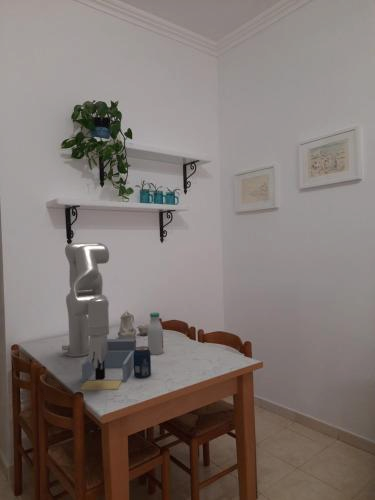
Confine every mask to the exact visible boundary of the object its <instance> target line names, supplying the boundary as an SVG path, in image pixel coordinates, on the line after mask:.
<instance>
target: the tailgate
mask: <svg viewBox="0 0 375 500" xmlns="http://www.w3.org/2000/svg"><path fill="white" fill-rule="evenodd" d="M122 382H123V379H103V380H96V379H88V380H87V381H86V382H83V384H82V386H81V387H80V388H79V391H105V390H106V391H117V390H119V388H120V386H121V384H122Z"/></svg>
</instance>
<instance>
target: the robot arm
mask: <svg viewBox="0 0 375 500" xmlns="http://www.w3.org/2000/svg"><path fill="white" fill-rule="evenodd" d="M64 254H65V257H66V259H67V261H68V265H69V282H68V283H69V288H70V289H69V293H68V294H66V297H65V304H66V307H67V308H66V309H67V317H68V340H69V342H68V343H69V344H68V345H67V344H66V345H64V344H63V345H62V346H61V350H62V351H66V356H67V357H71V358H79V357H80V358H81V357H86V356H88V358H89V363H92V362H93V361H94V368H95V372H94V373H95V374H94V375H95V376H94V377H95V378H94V380H105V379H106V370H105V369H106V368H103V367H105V359H106V357H107V356H108V339H109V338H108V335H109V334H110V326H109V325H110V323H109V322H110V321H109V305H110V303H109V299H108V298H107V296H106V295H105V294H103V275H102V273H101V272H100V271H99V267H98V265H99V264H103V265H104V264H107V263H108V262H109V261H110V252H109V249H108V247H107V246H106V245H105V244H103V243H101V242H74V243H68V244H67V245H66V246H65V248H64Z"/></svg>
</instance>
